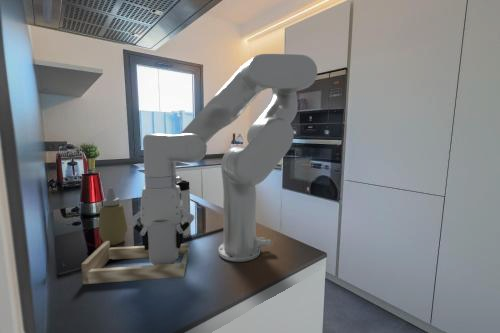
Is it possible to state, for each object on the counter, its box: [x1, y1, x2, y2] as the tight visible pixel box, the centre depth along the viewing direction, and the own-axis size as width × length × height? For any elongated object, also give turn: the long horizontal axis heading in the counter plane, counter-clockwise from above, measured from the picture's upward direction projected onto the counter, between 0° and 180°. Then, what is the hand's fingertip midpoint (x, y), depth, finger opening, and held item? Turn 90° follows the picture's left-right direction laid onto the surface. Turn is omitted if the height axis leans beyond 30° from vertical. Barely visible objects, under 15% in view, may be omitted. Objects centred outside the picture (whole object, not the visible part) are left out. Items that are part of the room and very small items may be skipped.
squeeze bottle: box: [98, 187, 128, 246], centre depth 78 cm, size 8×8×18 cm
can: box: [148, 221, 180, 265], centre depth 65 cm, size 8×8×12 cm
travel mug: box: [176, 179, 192, 239], centre depth 83 cm, size 6×7×20 cm
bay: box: [80, 241, 190, 285], centre depth 64 cm, size 23×12×5 cm, turn 98°
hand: (163, 246), depth 65 cm, fingers closed on can, 7 cm apart
